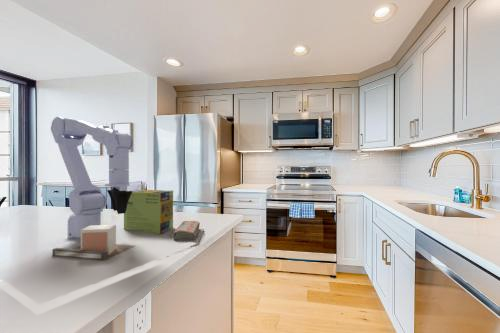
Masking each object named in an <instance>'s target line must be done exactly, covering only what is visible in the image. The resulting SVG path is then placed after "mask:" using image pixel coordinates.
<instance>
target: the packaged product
mask: <svg viewBox="0 0 500 333" xmlns="http://www.w3.org/2000/svg"><path fill="white" fill-rule="evenodd" d="M200 224H201V223H200V221H197V220H184V221H182V222H181V224H180V225H179V226H178V227H177V228H176V229H175V230H174V232H173V233H172V235H171V236H170V238H172V239H173V241H185V242H190V243H193V244H194V246H198V245H199V244H198V243H199V242H200V240H201V237H202V235H203V233H204V230H205V229H204V228H200Z"/></svg>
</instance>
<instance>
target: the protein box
mask: <svg viewBox="0 0 500 333" xmlns="http://www.w3.org/2000/svg"><path fill="white" fill-rule="evenodd" d="M131 191H132V194H131V196H130V198H129V200H128V204H127V209H126V213H123V230H129V231H133V230H134V231H139V232H144V233H148V234H153V235H162V234H164V233H165V232H167V231H169V230H171V229H173V228H174V190H163V189H138V190H137V189H136V190H131Z"/></svg>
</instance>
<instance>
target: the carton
mask: <svg viewBox="0 0 500 333" xmlns="http://www.w3.org/2000/svg"><path fill="white" fill-rule="evenodd" d="M116 244H117V224H101V225H90V226H88V227H86V228H84V229H82V230H81V238H80V246H81V250H89V251H101V252H108V255H109V254H111V253H112V252H113V251H114V250H115V249H116Z"/></svg>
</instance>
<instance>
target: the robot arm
mask: <svg viewBox="0 0 500 333" xmlns="http://www.w3.org/2000/svg"><path fill="white" fill-rule="evenodd" d="M50 131H51V134H52V137H53V140H54V142H55V144H57V145H58V150H59V152H60V154H61V157H62V160H63V163H64V165H65V167H66V170H67V173H68V176H69V178H70V181H71V183H72V186H73V189H72V190H71V191H70V192H69V194H68V201H69V204H68V205H69V206H68V207H69V209H70V211H71V212H72V214H71V215H70V216H69V217H68V219H67V239H72V238H77V239H81V230H82V229H84V228H86V227H88V226H90V225H102V221H101V220H102V219H101V218H102V216H101V215H102V214H101V213H102V212H103V211H104V209H105V208H106V207H107V202H108V200H107V196H106V195H105V194H104V192H103V191H102V189H101V187H99V186H96V185H95V184H93V182H92V181H91V179H90V175H89V173H88V171H87V168H86V166H85V163H84V161H83V158H82V156H81V153H80V151H79V148H78V147H79V146H82V145H83V142H84V141H85V139H86V137H87V135H89V136H91V137H92V139H93V140H94V142H96V143H99V144H101V145H103V146H105V149H106V155H107V156H108V183H104V186H105V187H110V188H111V189H107V190H106V192H107V193H108V195H109V198H110V200H111V201H110V202H111V205H112V211H116V212H117V215H121V214H124V213H126V209H127V204H128V200H129V198H130V196H131V194H132V191H133V190H128V187H129V186H130V184H131V183H130V175H129V174H130V170H129V167H130V164H129V162H130V160H129V155H130V154H129V153H130V152H129V151H130V150H131V149H132V147H133V145H134V144H133V142H134V141H133V138H132V136H131V135H130V134H129V133H122V132H121V133H120V132H119V130H118V129H111V128H110V126H109V125H106V124H105V125H104V124H102V125H98V126H96V125H94V124H93V123H90V122H88V121H85V120H80V119H74V118H69V117H67V118H66V117H61V116H55V117H54V118H53V119H52V121H51V125H50Z"/></svg>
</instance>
